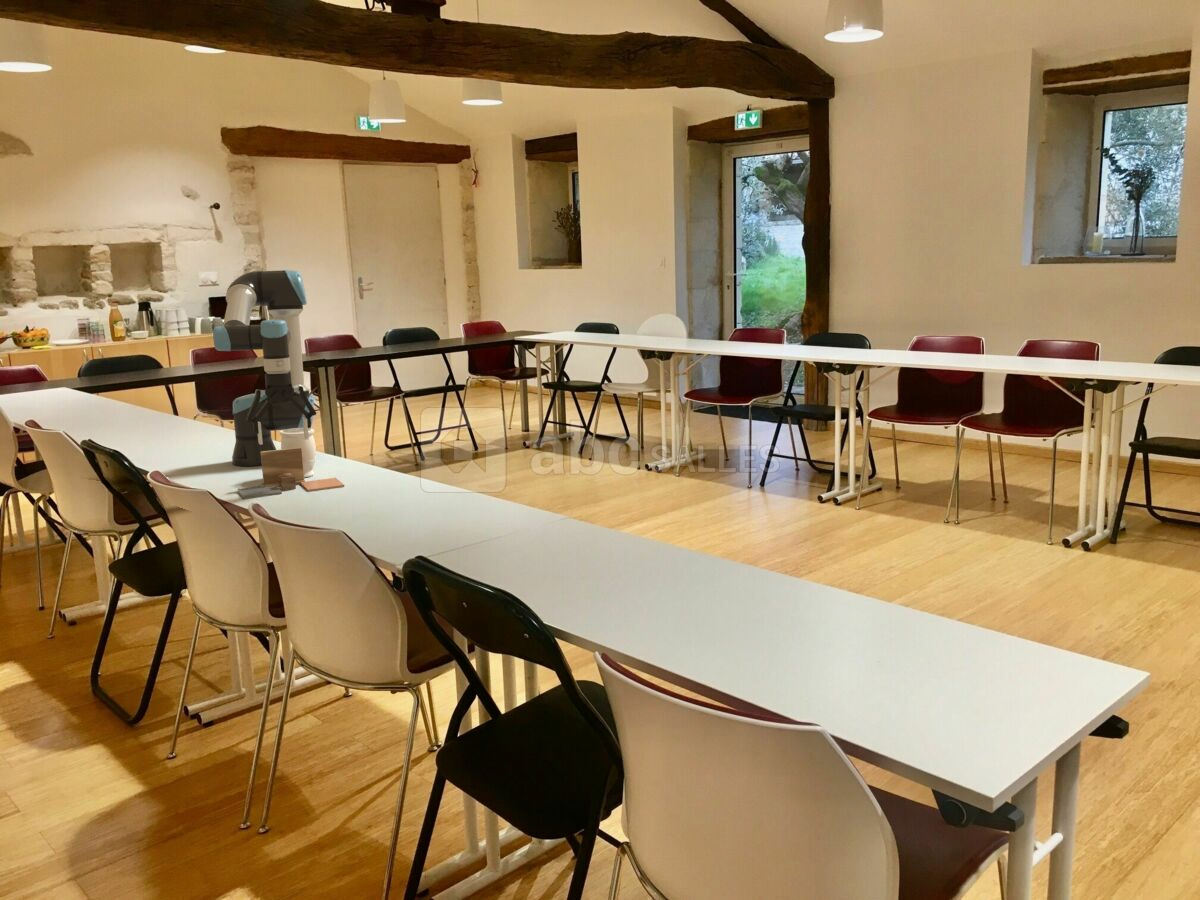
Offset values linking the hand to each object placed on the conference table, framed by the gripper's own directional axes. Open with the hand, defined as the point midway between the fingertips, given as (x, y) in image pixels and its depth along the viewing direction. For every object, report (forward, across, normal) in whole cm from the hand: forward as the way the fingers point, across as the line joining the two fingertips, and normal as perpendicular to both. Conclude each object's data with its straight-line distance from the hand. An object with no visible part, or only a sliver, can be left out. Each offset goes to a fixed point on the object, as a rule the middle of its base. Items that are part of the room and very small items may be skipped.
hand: (283, 441), depth 303 cm
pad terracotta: (+15, +10, -2) cm, 18 cm away
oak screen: (+15, 0, +6) cm, 16 cm away
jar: (+15, +7, +15) cm, 22 cm away
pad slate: (+15, -8, 0) cm, 17 cm away
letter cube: (+15, 0, 0) cm, 15 cm away
